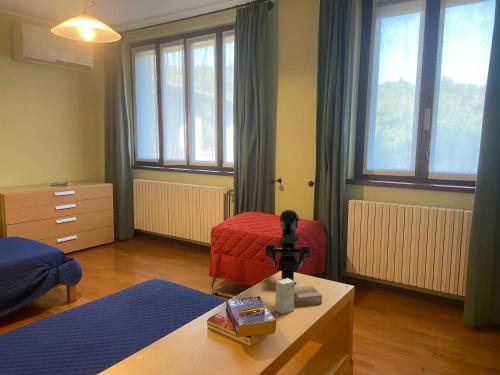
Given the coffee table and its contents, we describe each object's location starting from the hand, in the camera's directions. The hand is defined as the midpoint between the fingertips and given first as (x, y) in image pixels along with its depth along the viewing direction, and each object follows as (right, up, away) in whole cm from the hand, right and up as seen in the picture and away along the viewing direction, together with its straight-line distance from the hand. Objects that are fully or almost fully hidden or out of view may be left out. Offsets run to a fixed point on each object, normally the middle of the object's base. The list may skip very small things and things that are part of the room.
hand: (287, 269), depth 155 cm
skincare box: (-2, -15, -6) cm, 16 cm away
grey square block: (+8, -14, +4) cm, 17 cm away
